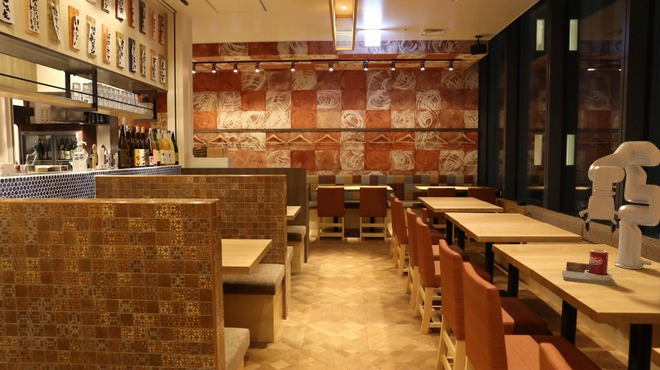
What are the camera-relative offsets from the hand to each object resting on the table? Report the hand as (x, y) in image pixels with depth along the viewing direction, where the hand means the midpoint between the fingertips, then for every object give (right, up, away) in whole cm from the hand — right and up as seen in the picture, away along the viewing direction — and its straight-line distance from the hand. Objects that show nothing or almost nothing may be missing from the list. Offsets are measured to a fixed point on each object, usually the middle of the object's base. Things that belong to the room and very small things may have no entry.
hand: (599, 231), depth 206 cm
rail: (0, -21, +12) cm, 25 cm away
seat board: (-4, -22, +3) cm, 23 cm away
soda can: (0, -21, +1) cm, 21 cm away
